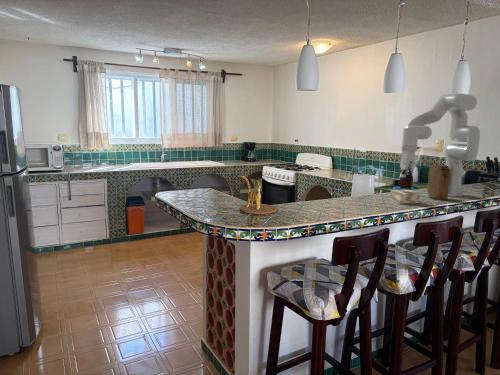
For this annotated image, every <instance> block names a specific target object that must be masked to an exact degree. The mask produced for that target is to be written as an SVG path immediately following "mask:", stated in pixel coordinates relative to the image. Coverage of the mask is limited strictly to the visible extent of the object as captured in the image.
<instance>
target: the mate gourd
mask: <svg viewBox="0 0 500 375" xmlns="http://www.w3.org/2000/svg"><path fill="white" fill-rule="evenodd" d="M404 164H406V163H404ZM406 173H407V172H406V170H405V174H402V175H399V186H400V187H399V190H411V189H412V185H413V183H414V176H413V175H412V182H406V181H405V180H406Z"/></svg>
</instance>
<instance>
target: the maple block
mask: <svg viewBox="0 0 500 375" xmlns="http://www.w3.org/2000/svg"><path fill="white" fill-rule="evenodd" d="M389 200H390V201H392V202H394V203H397V204H399V203H400V204H399V205H405V204H404V203H420V193H419V192H416V191H414V190H411V189H409V190H407V189H390V194H389Z"/></svg>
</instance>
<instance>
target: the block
mask: <svg viewBox="0 0 500 375" xmlns="http://www.w3.org/2000/svg"><path fill="white" fill-rule="evenodd" d="M450 172H451V171H450V168H449V167H448V166H447V165H444V164H431V165H430V169H429V175H428V181H427V193H428V197H429V198H430V199H432V200H433V199H435V200H441V201H443V200H444V201H445V200H447V199H448V197H449V196H448V187H449V183H450V176H451V173H450Z"/></svg>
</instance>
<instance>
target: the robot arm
mask: <svg viewBox="0 0 500 375" xmlns="http://www.w3.org/2000/svg"><path fill="white" fill-rule="evenodd" d="M477 104H478V100H477V98H476V96H474V95H472V94H463V93H447V94H442V95H440V96H438V97H437V99H436V100H435V101H434V103H433V104H431V106H430V107H429V108H428V110H426V111H424V112H422V113H420V114H419V115H417V116H415V117H414V118H412V119H411V120H410V121H409V123H408V124H407V125H406V126H404V128H403V132H402V145H401V155H400V156H401V157H400V163H399V168H400V169H401V170H400V171H401V173H400V174H401V175H402V174H405V170H406V180H405V181H406V182H412V176H413V172H414V169H415V162H416V153H417V150H418V140H423V141H424V140H428V139H429V138H431V136H432V133H433V132H432V129H431V128H430V126H427V125H430V124H434V123H437V122H439V121H441V120H442V118H443V117H444V116H445V115H446V113H447V112H449V113H450V117H451V124H450V132H449V138H450V140H451V141H453V142H463V143H449V144H448V145H447V146H446V147H445V150H444V154H445V165H447V166H448V167H449V168H450V171H451V172H450V173H451V176H450V183H449V187H448V197H457V196H458V197H462V196H463V194H464V193H469V189H466V188H465V189H463V188H462V187H461V186H462V176H463V169H464V168H463V167H464V166H463V163H462V161H465V162H466V161H467V162H470V161H472V162H473V161H475V159H477V156H478V153H479V146H480V140H481V139H480V138H481V131H480V129H479V127H478V126H476V125H469V124H468V120H469V117H468V114H467V112H468V111H473V110H474V109H476V106H477ZM466 111H467V112H466ZM404 163H406V164H404ZM401 175H400V176H401Z"/></svg>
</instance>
